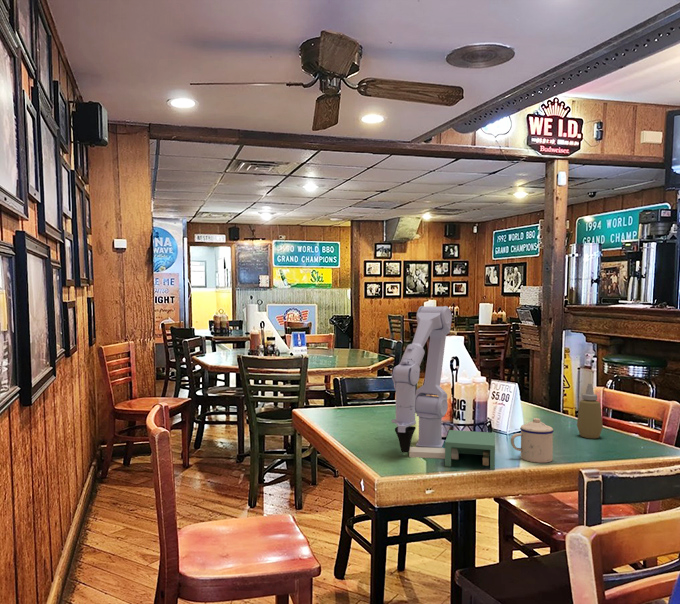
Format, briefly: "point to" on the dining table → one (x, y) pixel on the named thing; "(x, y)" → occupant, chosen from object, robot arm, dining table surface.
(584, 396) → the squeeze bottle
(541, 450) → the teacup with lid
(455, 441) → the shelf
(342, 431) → the dining table surface
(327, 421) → the dining table surface
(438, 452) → the beige rectangular block
